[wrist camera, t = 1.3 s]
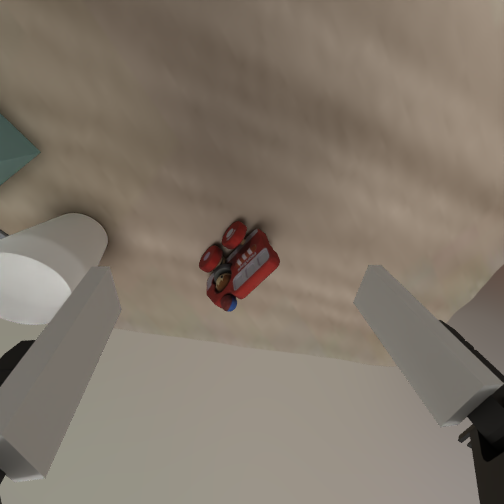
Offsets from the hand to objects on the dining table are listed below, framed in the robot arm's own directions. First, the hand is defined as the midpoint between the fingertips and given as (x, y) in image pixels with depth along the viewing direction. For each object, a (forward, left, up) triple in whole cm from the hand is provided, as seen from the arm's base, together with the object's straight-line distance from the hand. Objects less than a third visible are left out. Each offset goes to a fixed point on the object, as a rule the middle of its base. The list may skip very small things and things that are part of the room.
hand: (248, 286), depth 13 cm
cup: (-6, -21, -22) cm, 31 cm away
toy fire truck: (+9, -6, -23) cm, 25 cm away
